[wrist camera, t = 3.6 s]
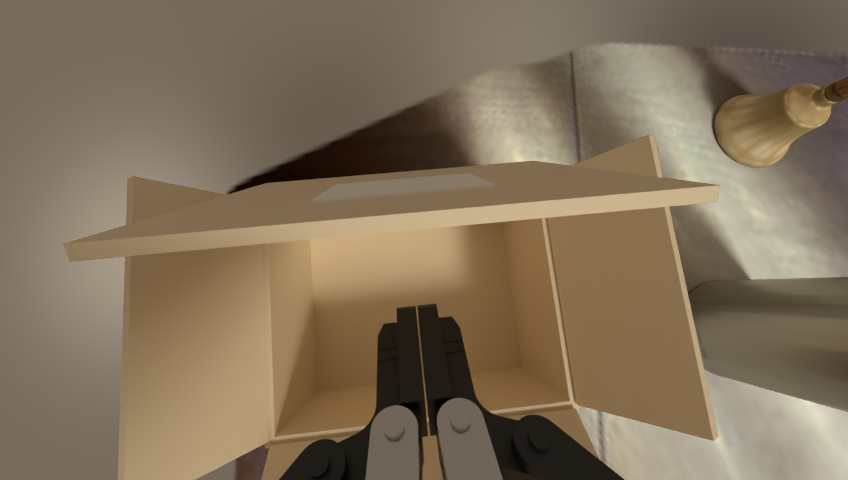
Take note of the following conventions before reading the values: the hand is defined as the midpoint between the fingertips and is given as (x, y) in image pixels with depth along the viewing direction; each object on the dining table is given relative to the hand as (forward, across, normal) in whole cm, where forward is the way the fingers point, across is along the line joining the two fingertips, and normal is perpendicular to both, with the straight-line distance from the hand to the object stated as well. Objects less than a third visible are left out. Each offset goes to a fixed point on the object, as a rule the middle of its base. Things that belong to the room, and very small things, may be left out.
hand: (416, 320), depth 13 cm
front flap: (+6, 0, -2) cm, 6 cm away
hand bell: (+24, -38, +4) cm, 45 cm away
